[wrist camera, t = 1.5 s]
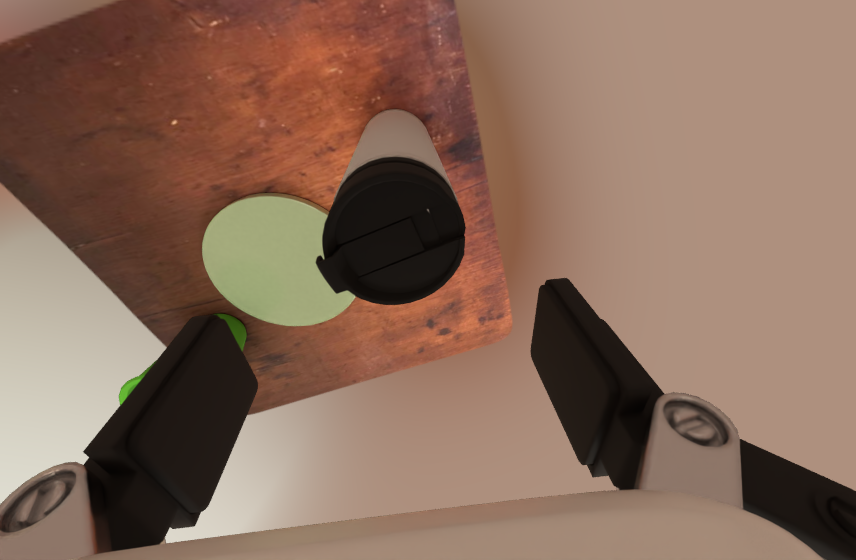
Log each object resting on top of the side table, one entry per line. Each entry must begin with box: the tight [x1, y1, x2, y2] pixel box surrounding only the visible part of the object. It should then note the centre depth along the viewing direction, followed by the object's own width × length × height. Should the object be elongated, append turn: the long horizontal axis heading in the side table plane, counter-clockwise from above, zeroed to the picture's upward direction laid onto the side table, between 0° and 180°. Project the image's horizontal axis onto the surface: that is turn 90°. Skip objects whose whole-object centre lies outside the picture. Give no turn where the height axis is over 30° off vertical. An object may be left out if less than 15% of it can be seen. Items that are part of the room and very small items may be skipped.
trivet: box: [202, 193, 356, 326], centre depth 36 cm, size 16×16×1 cm
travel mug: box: [315, 109, 466, 305], centre depth 22 cm, size 6×7×20 cm
